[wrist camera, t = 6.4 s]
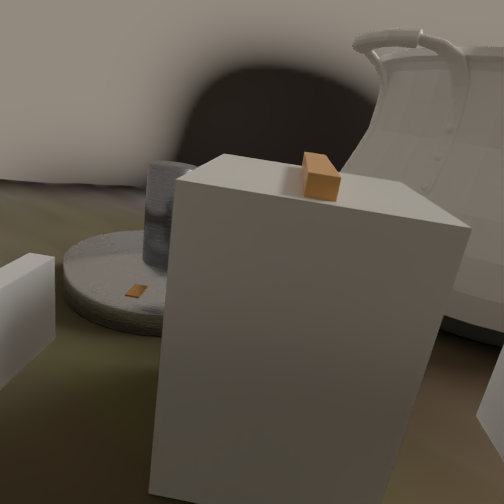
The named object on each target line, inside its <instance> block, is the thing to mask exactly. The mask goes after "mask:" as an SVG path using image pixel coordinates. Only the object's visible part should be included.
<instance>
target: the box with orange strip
mask: <svg viewBox="0 0 504 504" xmlns="http://www.w3.org/2000/svg"><path fill="white" fill-rule="evenodd" d="M471 231H472V228H471V227H470V226H468V225H467V224H465V223H463V222H462V221H460V220H459V219H457V218H456V217H454V216H453V215H451V214H450V213H448V212H446V211H445V210H443V209H442V208H440V207H439V206H437V205H436V204H434V203H433V202H431V201H429V200H428V199H426V198H425V197H423V196H422V195H420V194H419V193H417V192H416V191H414V190H412V189H411V188H409V187H408V186H406V185H405V184H403V183H402V182H397V181H391V180H385V179H378V178H372V177H366V176H360V175H353V174H347V173H341V172H337V171H336V169H335V168H334V166H333V165H332V164H331V162H330V161H329V159H328V158H327V156H326V155H322V154H316V153H309V152H304V158H303V163H302V166H297V165H291V164H285V163H278V162H273V161H266V160H260V159H253V158H248V157H241V156H235V155H229V154H223V155H221V156H219V157H217V158H215V159H214V160H211V161H210V162H208V163H206V164H204V165H202V166H200V167H198V168H196V169H194V170H192V171H190V172H188V173H186V174H185V175H183V176H181V177H179V178H177V179H175V190H174V202H173V213H172V225H171V237H170V248H169V260H168V271H167V283H166V295H165V306H164V318H163V330H162V341H161V353H160V364H159V376H158V388H157V399H156V411H155V423H154V434H153V446H152V457H151V469H150V481H149V492H148V493H149V494H154V495H158V496H163V497H168V498H173V499H178V500H183V501H187V502H192V503H197V504H382V501H383V498H384V495H385V492H386V489H387V486H388V483H389V480H390V477H391V474H392V470H393V467H394V464H395V461H396V458H397V455H398V452H399V449H400V446H401V443H402V440H403V437H404V434H405V431H406V428H407V425H408V422H409V419H410V416H411V413H412V410H413V407H414V404H415V401H416V398H417V395H418V392H419V389H420V385H421V382H422V379H423V376H424V373H425V370H426V367H427V364H428V361H429V358H430V355H431V352H432V349H433V346H434V343H435V340H436V337H437V334H438V331H439V328H440V325H441V322H442V319H443V316H444V313H445V310H446V307H447V304H448V300H449V297H450V294H451V291H452V288H453V285H454V282H455V279H456V276H457V273H458V270H459V267H460V264H461V261H462V258H463V255H464V252H465V249H466V246H467V243H468V240H469V237H470V234H471Z"/></svg>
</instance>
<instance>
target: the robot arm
mask: <svg viewBox="0 0 504 504" xmlns="http://www.w3.org/2000/svg"><path fill="white" fill-rule="evenodd" d="M54 339H55V257H51V256H46V255H40V254H34V253H28V254H26V255H24V256H22V257H21V258H19V259H17V260H15V261H13V262H11V263H9V264H7V265H5V266H3V267H1V268H0V390H1V389H2V388H3V387H4V386H5V385H6V384H7V383H8V382H10V381H11V380H12V379H13V378H14V377H15V376H16V375H17V374H18V373H19V372H20V371H21V370H22V369H23V368H24V367H26V366H27V365H28V364H29V363H30V362H31V361H32V360H33V359H34V358H35V357H36V356H37V355H38V354H39V353H41V352H42V351H43V350H44V349H45V348H46V347H47V346H48V345H49V344H50V343H51V342H52V341H53V340H54ZM476 417H477V418H478V420H479V422H480V423H481V425H482V427H483V428H484V430H485V432H486V433H487V435H488V437H489V438H490V440H491V442H492V443H493V445H494V447H495V448H496V450H497V452H498V453H499V455H500V457H501V458H502V460H503V462H504V345H503V348H502V350H501V353H500V355H499V358H498V360H497V363H496V365H495V368H494V371H493V373H492V376H491V378H490V381H489V383H488V386H487V388H486V391H485V394H484V396H483V399H482V401H481V404H480V406H479V409H478V412H477V414H476Z"/></svg>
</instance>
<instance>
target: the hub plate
mask: <svg viewBox="0 0 504 504" xmlns="http://www.w3.org/2000/svg"><path fill="white" fill-rule="evenodd" d="M196 168H198V167H196V166H193V165H189V164H185V163H179V162H172V161H171V162H170V161H150V162H148V175H147V190H146V206H145V221H144V230H139V231H122V232H114V233H107V234H102V235H98V236H94V237H90V238H88V239H85V240H82V241H80V242H78V243H76V244H75V245H73V246H72V247H70V249H69V250H68V251H67V252H66V254H65V255H64V260H63V292H64V297H65V300H66V301H67V303H68V305H69V306H70V307H71V308H72V309H73V310H74V311H75V312H77V313H78V314H79V315H81V316H82V317H84V318H86V319H88V320H90V321H92V322H94V323H97V324H99V325H101V326H104V327H108V328H111V329H114V330H118V331H123V332H127V333H133V334H140V335H148V336H162V330H163V318H164V306H165V295H166V283H167V271H168V260H169V248H170V237H171V225H172V213H173V202H174V190H175V179H177V178H179V177H181V176H183V175H185V174H186V173H188V172H190V171H192V170H194V169H196Z"/></svg>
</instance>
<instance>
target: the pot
mask: <svg viewBox="0 0 504 504" xmlns="http://www.w3.org/2000/svg"><path fill="white" fill-rule="evenodd" d="M392 46H393V47H394V46H398V47H407V48H416V49H408V50H402V51H396V52H391V53H388V54H385V55H382V56H381V57H380V58H379V57H378V56H377V55H376V53H375V52H374V51H373V50H374V49H376V48H381V47H392ZM419 46H423V47H425V48H418V47H419ZM352 47H353V49H354V50H356V51H357V52H359V53H363V54H365V56H366V57H367V58H368V59H369V60H370V61H371V63H372V64H373V65H374V66H375V69H376V71H377V73H378V76H379V80H380V84H381V87H380V92H379V96H378V100H377V104H376V107H375V110H374V114H373V117H372V120H371V123H370V126H369V129H368V130H367V132H366V134H365V135H364V137H363V138H362V140H361V141H360V143H359V144H358V146H357V148H356V149H355V151H354V152H353V154H352V155H351V156H350V158H349V159H348V161H347V162H346V164H345V166H344V167H343V168H342V170H341V171H340V172H341V173H347V174H353V175H360V176H366V177H372V178H378V179H385V180H391V181H397V182H402V183H403V184H405V185H406V186H408V187H409V188H411V189H412V190H414V191H416V192H417V193H419V194H420V195H422V196H423V197H425V198H426V199H428V200H429V201H431V202H433V203H434V204H436V205H437V206H439V207H440V208H442V209H443V210H445V211H446V212H448V213H450V214H451V215H453V216H454V217H456V218H457V219H459V220H460V221H462V222H463V223H465V224H467V225H468V226H470V227H471V228H472V231H471V234H470V237H469V240H468V243H467V246H466V249H465V252H464V255H463V258H462V261H461V264H460V267H459V270H458V273H457V276H456V279H455V282H454V285H453V288H452V291H451V294H450V297H449V300H448V304H447V307H446V310H445V313H444V316H443V319H442V322H441V325H440V328H439V329H441V330H444V331H447V332H450V333H452V334H455V335H458V336H461V337H464V338H468V339H472V340H475V341H479V342H483V343H486V344H490V345H494V346H499V347H503V345H504V47H455V46H454V45H453V44H451V43H450V42H449V41H448V40H446V39H442V38H438V37H434V36H430V35H426V34H423V30H422V29H409V28H407V29H406V28H390V29H380V30H373V31H369V32H366V33H362V34H359V35H358V36H356V37H355V40H354V42H353V45H352ZM417 48H418V49H417Z"/></svg>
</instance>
